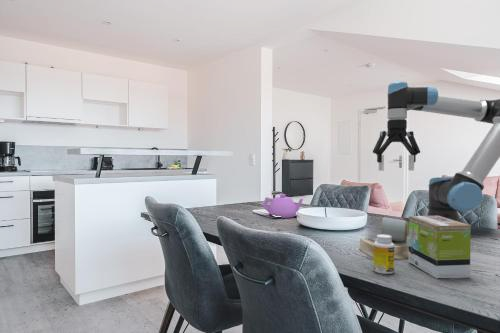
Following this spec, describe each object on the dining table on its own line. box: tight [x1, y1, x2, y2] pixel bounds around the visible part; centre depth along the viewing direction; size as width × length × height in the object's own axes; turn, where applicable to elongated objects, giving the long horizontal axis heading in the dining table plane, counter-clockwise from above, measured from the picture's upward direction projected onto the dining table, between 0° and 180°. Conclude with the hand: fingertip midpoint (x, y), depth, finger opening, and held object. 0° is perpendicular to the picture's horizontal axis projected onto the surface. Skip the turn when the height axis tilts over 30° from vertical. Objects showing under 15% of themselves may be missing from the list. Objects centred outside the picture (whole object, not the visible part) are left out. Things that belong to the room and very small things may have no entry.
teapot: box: [262, 193, 304, 219], centre depth 198 cm, size 22×16×12 cm
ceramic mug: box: [380, 216, 409, 242], centre depth 123 cm, size 11×8×8 cm
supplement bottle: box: [372, 234, 395, 275], centre depth 103 cm, size 6×6×10 cm
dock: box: [359, 236, 409, 260], centre depth 122 cm, size 18×12×4 cm, turn 99°
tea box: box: [408, 215, 472, 279], centre depth 104 cm, size 15×10×15 cm, turn 5°
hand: (396, 170), depth 153 cm, fingers open, 13 cm apart
